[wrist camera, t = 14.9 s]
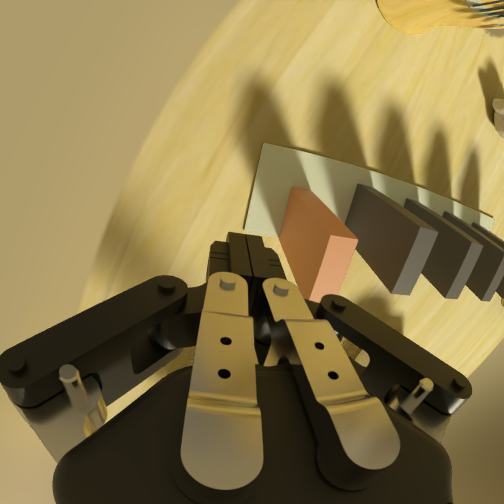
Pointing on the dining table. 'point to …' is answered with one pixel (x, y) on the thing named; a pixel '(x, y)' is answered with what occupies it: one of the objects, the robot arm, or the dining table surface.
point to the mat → (331, 189)
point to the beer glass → (442, 14)
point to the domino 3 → (447, 252)
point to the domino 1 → (315, 245)
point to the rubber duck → (499, 115)
